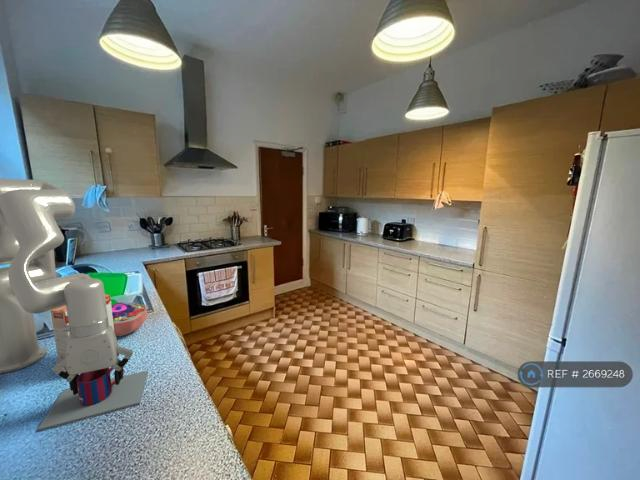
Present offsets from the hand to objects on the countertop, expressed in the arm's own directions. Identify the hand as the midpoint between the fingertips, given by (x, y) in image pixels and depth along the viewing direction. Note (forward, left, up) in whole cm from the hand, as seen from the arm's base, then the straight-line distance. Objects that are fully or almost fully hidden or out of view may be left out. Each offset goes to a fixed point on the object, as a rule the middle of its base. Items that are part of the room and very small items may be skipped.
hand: (98, 386), depth 72 cm
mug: (+1, +1, -3) cm, 3 cm away
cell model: (-3, +39, -4) cm, 40 cm away
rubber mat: (0, 0, -4) cm, 4 cm away
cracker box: (-8, +21, -4) cm, 23 cm away
